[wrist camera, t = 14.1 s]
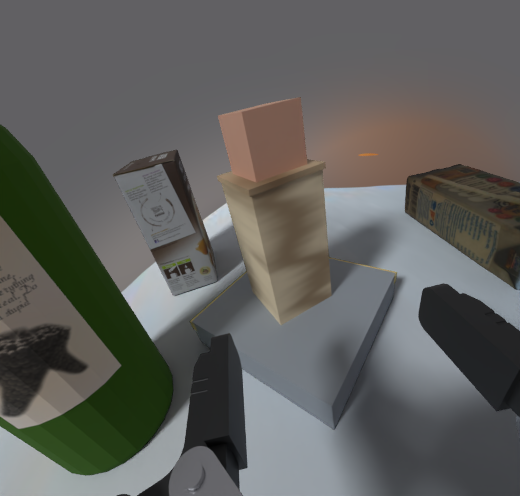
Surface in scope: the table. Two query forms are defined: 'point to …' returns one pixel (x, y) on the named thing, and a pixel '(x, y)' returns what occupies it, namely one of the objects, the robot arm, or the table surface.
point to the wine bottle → (68, 334)
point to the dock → (306, 336)
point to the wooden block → (283, 237)
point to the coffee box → (169, 220)
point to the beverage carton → (471, 215)
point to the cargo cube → (265, 139)
